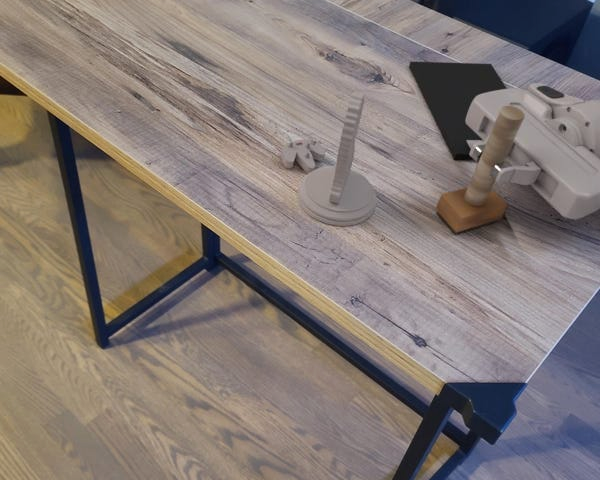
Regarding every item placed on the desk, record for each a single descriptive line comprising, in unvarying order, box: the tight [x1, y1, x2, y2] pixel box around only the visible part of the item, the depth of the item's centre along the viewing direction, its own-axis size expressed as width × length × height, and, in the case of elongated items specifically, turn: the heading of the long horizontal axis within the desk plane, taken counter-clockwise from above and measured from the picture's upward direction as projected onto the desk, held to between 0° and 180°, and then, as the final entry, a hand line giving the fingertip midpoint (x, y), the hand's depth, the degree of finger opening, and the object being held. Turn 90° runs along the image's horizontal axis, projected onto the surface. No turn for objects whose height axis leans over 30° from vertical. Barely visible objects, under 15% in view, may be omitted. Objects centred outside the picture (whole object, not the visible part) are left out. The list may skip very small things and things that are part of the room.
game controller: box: [270, 119, 326, 174], centre depth 78 cm, size 6×12×3 cm, turn 46°
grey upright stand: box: [296, 90, 378, 227], centre depth 68 cm, size 10×10×15 cm
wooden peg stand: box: [435, 106, 525, 235], centre depth 69 cm, size 7×4×15 cm, turn 116°
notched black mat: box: [408, 61, 508, 161], centre depth 90 cm, size 14×24×1 cm, turn 8°
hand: (484, 163), depth 67 cm, fingers closed on wooden peg stand, 2 cm apart
